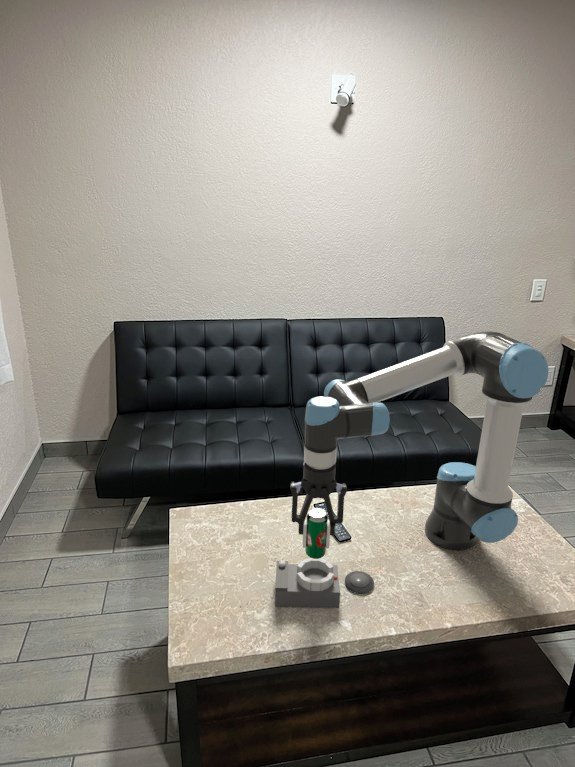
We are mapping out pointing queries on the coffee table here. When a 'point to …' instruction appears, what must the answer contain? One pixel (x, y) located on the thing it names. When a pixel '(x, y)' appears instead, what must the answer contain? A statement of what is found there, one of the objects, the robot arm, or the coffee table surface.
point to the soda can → (316, 533)
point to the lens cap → (359, 582)
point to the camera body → (307, 584)
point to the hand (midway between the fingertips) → (315, 544)
